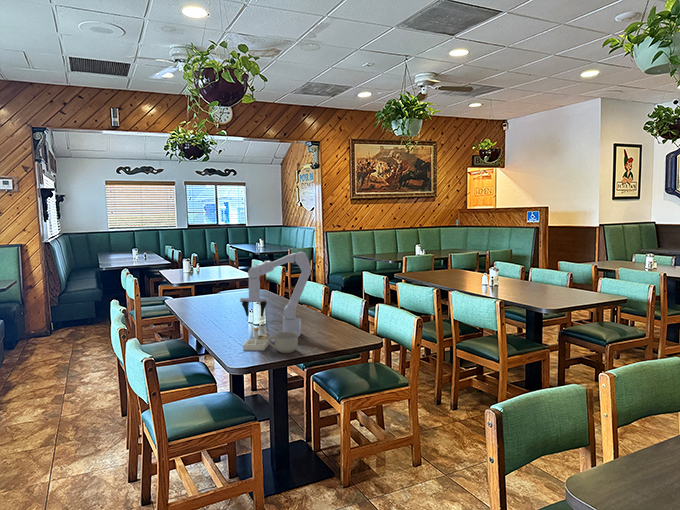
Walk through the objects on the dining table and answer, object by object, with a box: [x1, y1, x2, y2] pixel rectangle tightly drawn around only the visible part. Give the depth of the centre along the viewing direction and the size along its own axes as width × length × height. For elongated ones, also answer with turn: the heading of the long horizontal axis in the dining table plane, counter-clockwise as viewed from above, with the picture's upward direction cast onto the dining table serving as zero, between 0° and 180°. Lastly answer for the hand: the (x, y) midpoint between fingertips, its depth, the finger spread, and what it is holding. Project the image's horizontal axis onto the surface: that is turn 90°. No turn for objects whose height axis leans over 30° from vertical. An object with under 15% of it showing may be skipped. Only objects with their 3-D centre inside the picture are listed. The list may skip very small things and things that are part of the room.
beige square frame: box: [252, 334, 269, 339], centre depth 229 cm, size 6×6×3 cm
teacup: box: [267, 331, 299, 354], centre depth 214 cm, size 14×11×8 cm
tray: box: [242, 338, 270, 351], centre depth 221 cm, size 10×10×2 cm
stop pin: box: [253, 326, 260, 345], centre depth 221 cm, size 2×2×9 cm
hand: (254, 315), depth 242 cm, fingers open, 7 cm apart
